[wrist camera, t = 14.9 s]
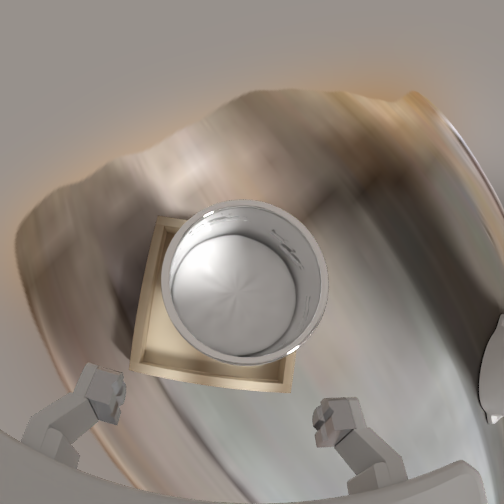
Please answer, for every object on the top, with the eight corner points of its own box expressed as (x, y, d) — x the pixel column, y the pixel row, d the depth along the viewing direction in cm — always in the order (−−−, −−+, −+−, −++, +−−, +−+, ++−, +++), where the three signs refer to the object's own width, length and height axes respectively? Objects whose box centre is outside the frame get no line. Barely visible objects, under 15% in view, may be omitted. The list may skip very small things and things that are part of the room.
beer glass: (210, 256, 26) (220, 166, 12) (275, 296, 26) (358, 252, 12) (169, 321, 24) (120, 305, 9) (236, 362, 24) (281, 403, 9)
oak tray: (297, 249, 28) (306, 241, 26) (282, 387, 24) (290, 393, 22) (161, 226, 27) (157, 215, 24) (136, 366, 23) (128, 370, 20)
